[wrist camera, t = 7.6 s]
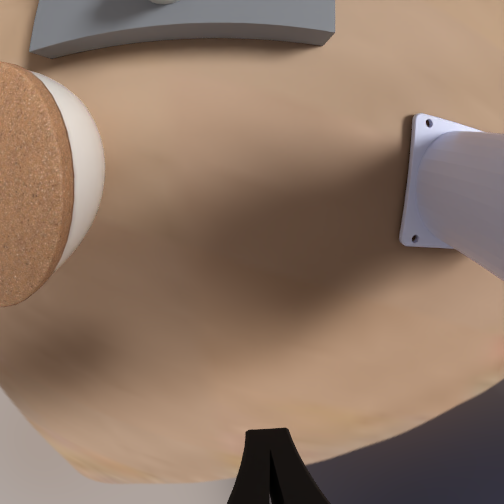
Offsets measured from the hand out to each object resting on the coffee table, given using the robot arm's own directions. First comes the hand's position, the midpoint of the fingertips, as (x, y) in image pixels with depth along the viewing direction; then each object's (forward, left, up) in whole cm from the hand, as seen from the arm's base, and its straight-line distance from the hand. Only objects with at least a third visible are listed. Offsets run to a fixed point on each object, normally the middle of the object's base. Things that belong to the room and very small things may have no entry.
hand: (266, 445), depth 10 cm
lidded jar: (+12, -8, -11) cm, 18 cm away
